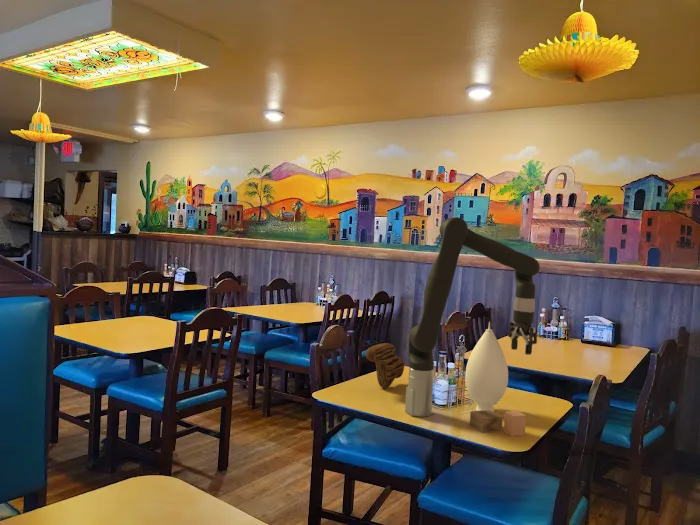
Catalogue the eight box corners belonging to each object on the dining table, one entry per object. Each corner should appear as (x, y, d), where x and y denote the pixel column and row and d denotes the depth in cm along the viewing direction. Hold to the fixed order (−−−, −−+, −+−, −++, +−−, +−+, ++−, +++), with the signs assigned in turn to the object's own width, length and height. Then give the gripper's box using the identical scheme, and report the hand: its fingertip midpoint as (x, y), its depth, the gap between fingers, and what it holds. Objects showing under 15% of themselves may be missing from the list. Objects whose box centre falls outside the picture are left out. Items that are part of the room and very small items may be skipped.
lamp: (456, 410, 213) (461, 320, 211) (475, 401, 225) (480, 317, 223) (494, 420, 203) (499, 326, 201) (512, 411, 215) (517, 322, 213)
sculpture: (391, 381, 252) (393, 337, 251) (406, 384, 247) (408, 340, 246) (359, 393, 230) (361, 346, 229) (375, 397, 226) (377, 349, 225)
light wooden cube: (512, 436, 187) (513, 416, 187) (503, 431, 192) (504, 411, 191) (524, 435, 188) (525, 415, 188) (516, 430, 193) (517, 410, 193)
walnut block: (481, 433, 190) (482, 418, 189) (469, 425, 197) (470, 411, 197) (501, 431, 192) (502, 417, 192) (489, 423, 200) (489, 410, 199)
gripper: (504, 306, 214) (501, 348, 214) (527, 312, 200) (524, 356, 201) (520, 307, 216) (517, 347, 217) (544, 312, 203) (541, 355, 203)
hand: (521, 351), depth 209 cm, fingers open, 8 cm apart
